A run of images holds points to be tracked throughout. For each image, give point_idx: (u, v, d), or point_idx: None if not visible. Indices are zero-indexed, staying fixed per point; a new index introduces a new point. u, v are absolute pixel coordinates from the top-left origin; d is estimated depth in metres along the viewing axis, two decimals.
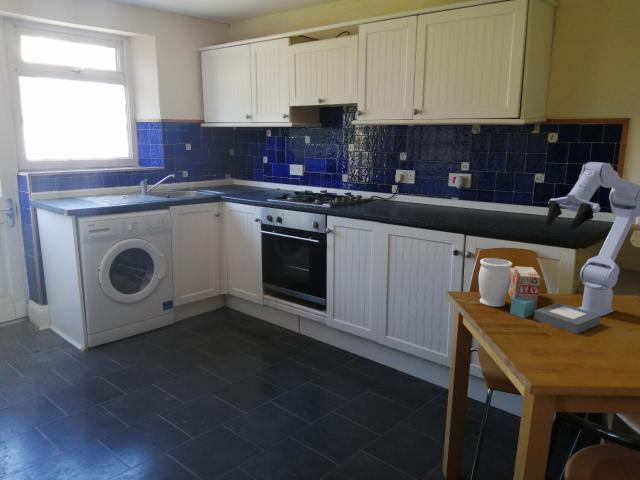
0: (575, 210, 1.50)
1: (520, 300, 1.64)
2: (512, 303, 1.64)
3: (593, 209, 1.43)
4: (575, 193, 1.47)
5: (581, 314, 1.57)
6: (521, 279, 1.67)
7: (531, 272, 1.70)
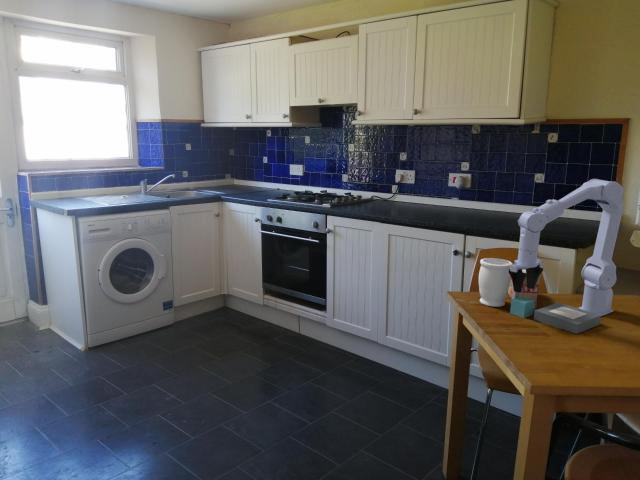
0: (533, 266, 1.60)
1: (520, 300, 1.64)
2: (512, 303, 1.65)
3: None
4: None
5: (581, 314, 1.57)
6: None
7: None
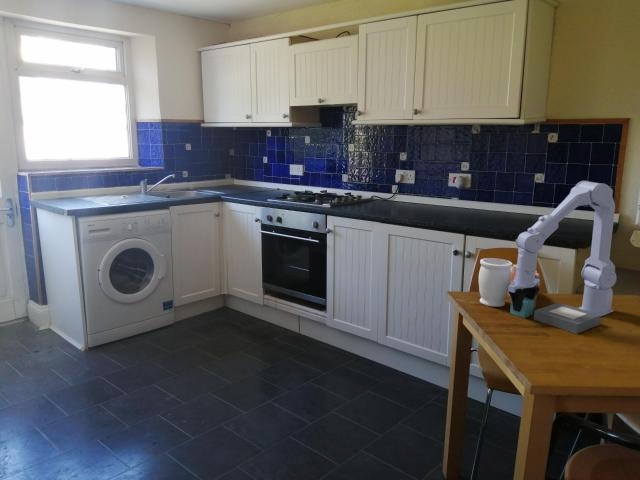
0: (530, 286, 1.61)
1: None
2: None
3: None
4: None
5: (581, 314, 1.57)
6: None
7: None
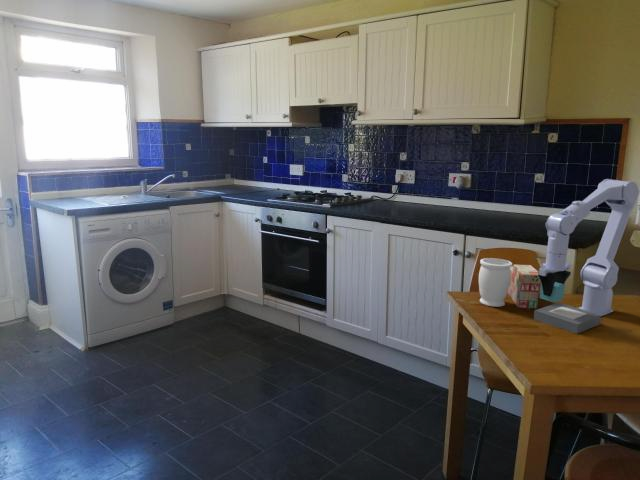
0: None
1: None
2: None
3: (541, 274, 1.55)
4: None
5: (581, 314, 1.57)
6: (522, 277, 1.69)
7: (531, 270, 1.72)
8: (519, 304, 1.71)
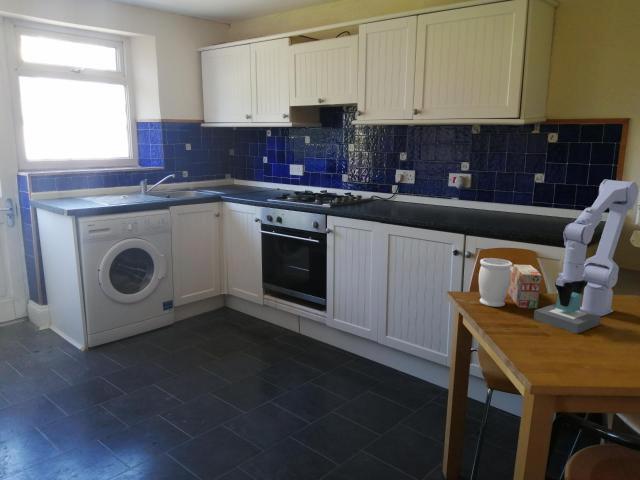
0: None
1: None
2: None
3: (559, 284, 1.53)
4: None
5: (581, 314, 1.57)
6: (523, 277, 1.69)
7: (532, 270, 1.72)
8: (519, 304, 1.71)
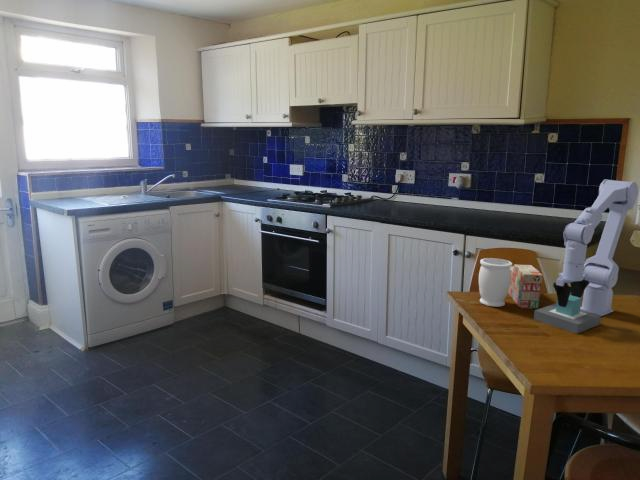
0: None
1: None
2: None
3: (558, 284, 1.53)
4: None
5: (581, 314, 1.57)
6: (524, 277, 1.69)
7: (532, 270, 1.72)
8: (521, 304, 1.71)
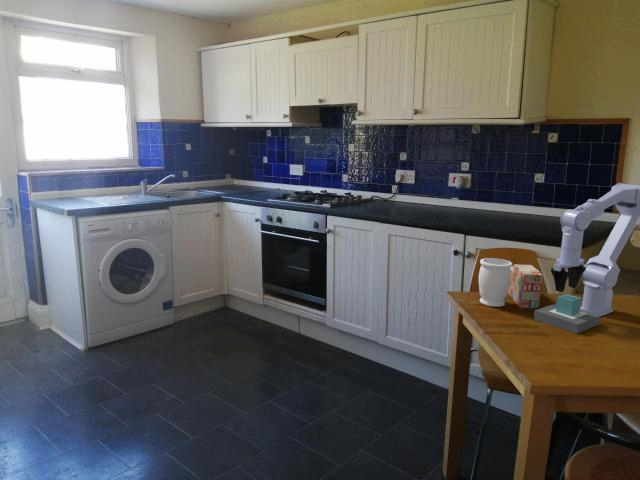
0: (576, 265, 1.58)
1: (567, 297, 1.57)
2: (559, 301, 1.58)
3: (556, 269, 1.56)
4: None
5: (581, 314, 1.57)
6: (524, 277, 1.69)
7: (533, 270, 1.72)
8: (521, 304, 1.71)
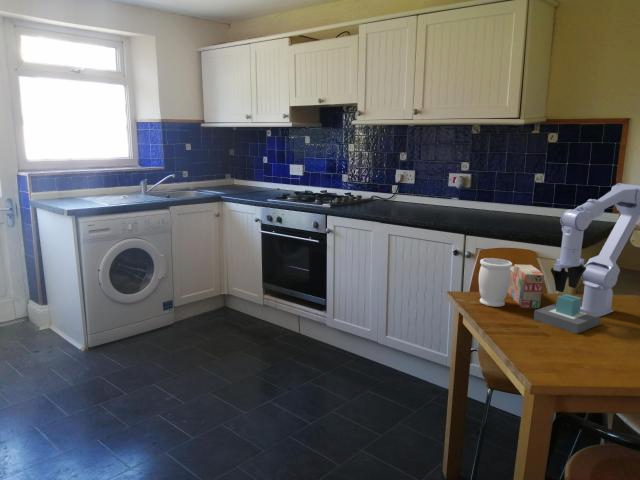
0: (576, 265, 1.58)
1: (567, 297, 1.57)
2: (559, 301, 1.58)
3: (556, 269, 1.56)
4: None
5: (581, 314, 1.57)
6: (526, 277, 1.69)
7: (533, 270, 1.72)
8: (522, 304, 1.71)
